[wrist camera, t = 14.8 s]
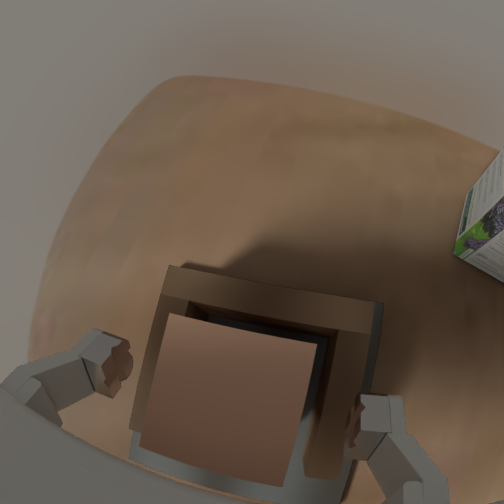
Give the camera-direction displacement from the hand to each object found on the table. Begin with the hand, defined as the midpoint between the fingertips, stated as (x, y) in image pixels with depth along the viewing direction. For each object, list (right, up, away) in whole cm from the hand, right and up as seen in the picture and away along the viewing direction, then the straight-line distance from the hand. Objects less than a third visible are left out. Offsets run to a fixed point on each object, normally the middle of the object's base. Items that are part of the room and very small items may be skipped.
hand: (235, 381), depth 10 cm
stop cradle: (+1, -3, +7) cm, 8 cm away
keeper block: (+1, -3, +7) cm, 7 cm away
